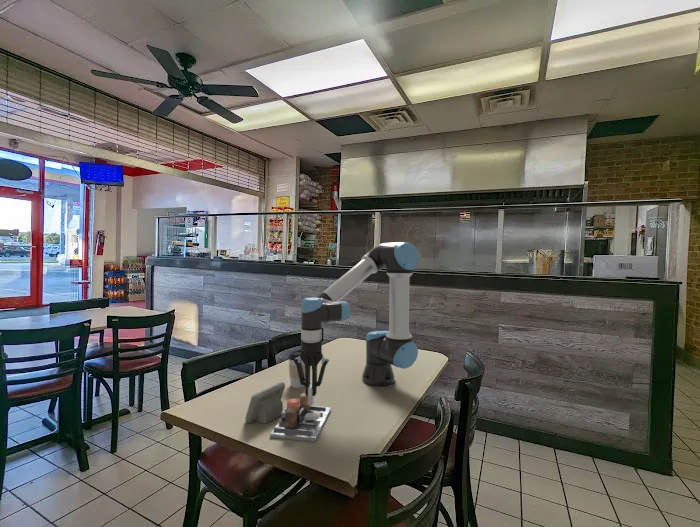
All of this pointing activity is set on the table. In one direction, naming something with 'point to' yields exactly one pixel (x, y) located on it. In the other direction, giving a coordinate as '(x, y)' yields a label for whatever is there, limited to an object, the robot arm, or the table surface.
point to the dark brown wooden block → (291, 418)
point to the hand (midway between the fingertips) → (310, 404)
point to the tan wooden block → (304, 401)
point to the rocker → (312, 416)
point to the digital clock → (266, 404)
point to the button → (293, 404)
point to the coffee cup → (295, 370)
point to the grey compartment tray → (302, 425)
